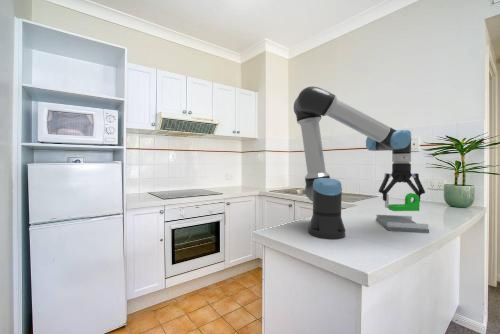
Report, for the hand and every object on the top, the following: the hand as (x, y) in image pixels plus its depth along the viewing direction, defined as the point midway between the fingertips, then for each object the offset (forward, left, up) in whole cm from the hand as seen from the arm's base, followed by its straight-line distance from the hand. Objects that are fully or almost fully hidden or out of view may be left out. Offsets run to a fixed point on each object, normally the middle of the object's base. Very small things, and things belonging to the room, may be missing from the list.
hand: (401, 208), depth 113 cm
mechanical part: (0, -2, -1) cm, 2 cm away
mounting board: (0, 0, -9) cm, 9 cm away
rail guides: (0, 0, -7) cm, 7 cm away
